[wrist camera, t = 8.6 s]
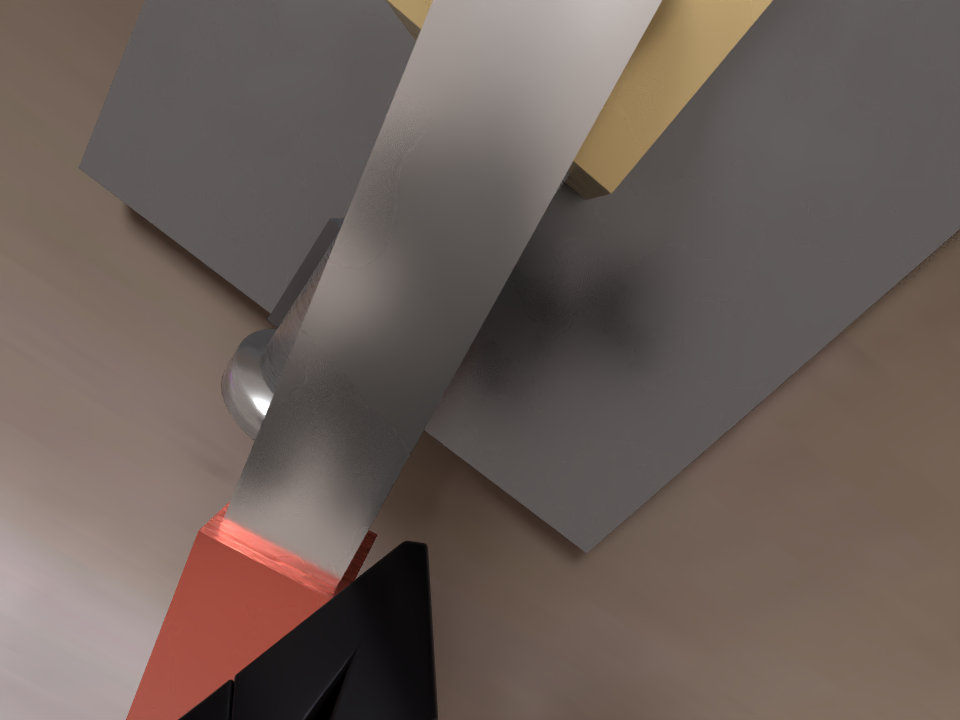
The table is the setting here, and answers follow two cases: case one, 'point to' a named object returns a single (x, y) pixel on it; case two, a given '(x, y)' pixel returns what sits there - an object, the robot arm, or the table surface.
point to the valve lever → (391, 318)
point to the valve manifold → (569, 213)
